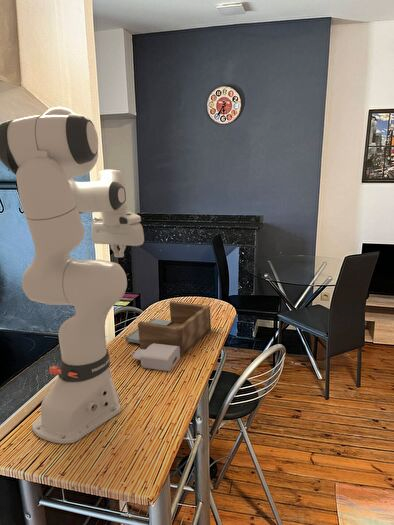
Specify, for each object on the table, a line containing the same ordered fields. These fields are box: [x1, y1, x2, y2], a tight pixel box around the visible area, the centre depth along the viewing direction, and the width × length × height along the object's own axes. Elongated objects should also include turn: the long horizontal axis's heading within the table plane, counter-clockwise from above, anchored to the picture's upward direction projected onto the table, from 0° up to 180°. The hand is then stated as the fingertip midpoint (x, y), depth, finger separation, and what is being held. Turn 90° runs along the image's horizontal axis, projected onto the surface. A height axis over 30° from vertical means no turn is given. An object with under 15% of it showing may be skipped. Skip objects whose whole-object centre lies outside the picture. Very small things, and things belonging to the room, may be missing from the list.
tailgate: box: [124, 317, 172, 345], centre depth 145 cm, size 18×1×8 cm
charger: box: [129, 343, 181, 372], centre depth 125 cm, size 5×9×15 cm
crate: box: [137, 300, 212, 358], centre depth 139 cm, size 22×16×10 cm
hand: (119, 256), depth 141 cm, fingers closed
